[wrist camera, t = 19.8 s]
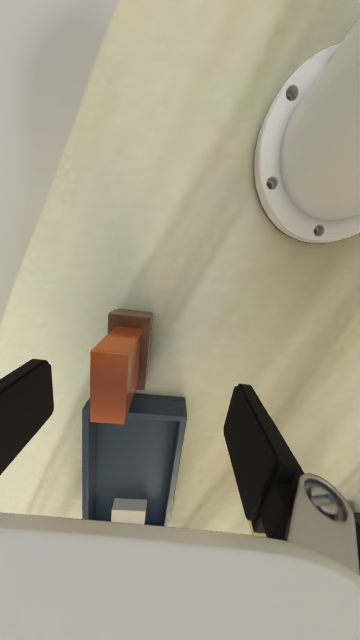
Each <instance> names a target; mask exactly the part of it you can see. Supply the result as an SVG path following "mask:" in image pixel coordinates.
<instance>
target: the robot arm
mask: <svg viewBox="0 0 360 640" xmlns="http://www.w3.org/2000/svg"><path fill="white" fill-rule="evenodd" d="M254 174H255V182H256V189H257V192H258V195H259V199H260V202H261V204H262V206H263V208H264V210H265V212H266V214H267V216H268V217H269V218H270V219H271V221H272V222H273V223H274V224H275V225H276V227H277V228H279V229H280V230H281V231H283V232H284V233H285V234H287V235H288V236H290V237H293V238H295V239H297V240H299V241H304V242H309V243H327V242H332V241H338V240H342V239H345V238H348V237H351V236H354V235H356V234H358V233H360V17H359V19H358V20H357V21H356V23H355V24H354V25H353V27H352V28H351V29H350V31H349V32H348V34H347V35H346V36H345V38H344V39H343V40H342V42H341V43H340V44H336V45H333V46H331V47H329V48H327V49H325V50H322V51H320V52H318V53H316V54H315V55H314V56H312V57H311V58H310V59H308V60H307V61H306V62H305V63H303V64H302V65H301V66H300V67H299V68H298V69H297V70H296V71H295V72H294V73H293V74H292V75H291V77H290V78H289V79H288V80H287V81H286V83H285V84H284V86H283V87H282V89H281V90H280V92H279V93H278V95H277V96H276V98H275V100H274V101H273V103H272V105H271V107H270V109H269V111H268V112H267V114H266V116H265V118H264V121H263V124H262V127H261V130H260V132H259V135H258V140H257V145H256V150H255V163H254ZM267 185H268V186H269V188H268V187H267ZM53 410H54V402H53V387H52V372H51V365H50V364H48V361H46V360H39V359H32V360H30V361H28V362H27V363H25V364H24V365H22V366H21V367H19V368H17V369H16V370H14V371H13V372H11V373H10V374H8V375H6V376H5V377H3V378H2V379H0V475H1V474H2V472H3V471H4V470H5V469H6V468H7V467H8V465H9V464H10V463H11V462H12V461H13V460H14V458H15V457H16V456H17V455H18V454H19V453H20V451H21V450H22V449H23V448H24V447H25V445H26V444H27V443H28V442H29V441H30V440H31V438H32V437H33V436H34V435H35V434H36V433H37V431H38V430H39V429H40V428H41V427H42V425H43V424H44V423H45V422H46V421H47V420H48V418H49V417H50V416H51V415H52V413H53ZM224 436H225V440H226V444H227V448H228V452H229V455H230V459H231V463H232V467H233V470H234V474H235V478H236V482H237V486H238V489H239V493H240V497H241V501H242V505H243V508H244V512H245V516H246V518H247V520H250V521H251V524H252V527H253V531H254V533H263V534H266V537H261V536H253V535H244V534H235V533H227V532H218V531H208V530H198V529H187V528H176V527H165V526H154V525H143V524H132V523H120V522H108V521H97V520H85V519H73V518H61V517H49V516H37V515H24V514H12V513H0V640H360V524H359V523H358V522H356V521H355V518H354V514H353V511H352V509H351V507H350V505H349V503H348V502H347V500H346V499H345V498H344V496H343V495H342V494H341V493H340V492H339V491H338V490H337V489H336V488H335V487H334V486H333V485H332V484H330V483H329V482H328V481H326V480H325V479H323V478H321V477H319V476H317V475H314V474H311V473H305V474H304V472H303V470H302V469H301V467H300V465H299V464H298V462H297V460H296V459H295V457H294V455H293V454H292V452H291V450H290V449H289V447H288V445H287V444H286V442H285V440H284V439H283V437H282V435H281V434H280V432H279V430H278V429H277V427H276V425H275V424H274V422H273V420H272V419H271V417H270V416H269V415H268V413H267V411H266V410H265V408H264V406H263V404H262V403H261V401H260V399H259V398H258V396H257V394H256V393H255V391H254V389H253V388H252V386H251V385H246V384H239V385H238V386H235V387H234V390H233V394H232V398H231V402H230V405H229V409H228V413H227V417H226V420H225V424H224Z"/></svg>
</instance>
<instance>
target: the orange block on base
mask: <svg viewBox="0 0 360 640" xmlns="http://www.w3.org/2000/svg"><path fill="white" fill-rule="evenodd" d="M152 321H153V313H149V312H140V311H132V310H123V309H117V310H113V311H112V312H110V313H109V318H108V335H106V336H105V337H104V338H103V339H102V340H101V341H100V342H99V343H98V344H97V345H96V346H95V347H94V348H93V349H92V350H91V365H90V422H98V423H112V424H124V423H125V420H126V417H127V414H128V411H129V408H130V405H131V401H132V398H133V395H134V392H135V390H145V387H146V382H147V374H148V363H149V353H150V342H151V331H152Z"/></svg>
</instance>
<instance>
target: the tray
mask: <svg viewBox="0 0 360 640" xmlns="http://www.w3.org/2000/svg"><path fill="white" fill-rule="evenodd" d="M186 420H187V412H186V402H185V398H180V397H169V396H157V395H146V394H134V395H133V398H132V401H131V405H130V408H129V411H128V414H127V417H126V420H125V423H124V424H112V423H98V422H90V398H89V400H88V401H87V403H86V404H85V406H84V407H83V409H82V511H83V519H85V520H97V521H108V522H111V514H112V507H113V503H114V499H115V498H123V499H145V500H147V506H146V515H145V523H144V525H154V526H165V527H169V523H170V517H171V511H172V505H173V499H174V493H175V487H176V481H177V475H178V469H179V463H180V457H181V451H182V445H183V439H184V433H185V427H186Z"/></svg>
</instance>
